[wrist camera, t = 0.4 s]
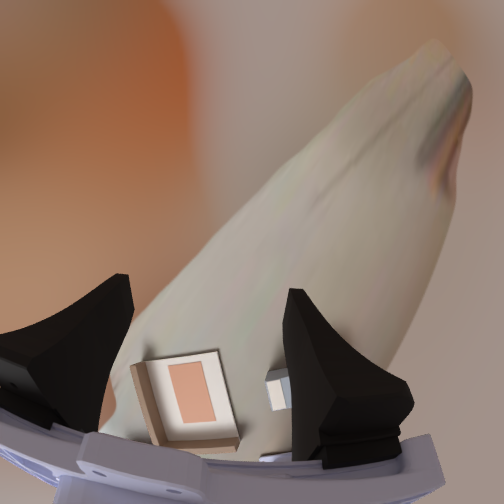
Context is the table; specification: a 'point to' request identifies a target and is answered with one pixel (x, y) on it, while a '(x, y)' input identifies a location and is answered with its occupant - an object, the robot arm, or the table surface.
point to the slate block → (278, 389)
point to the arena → (186, 403)
